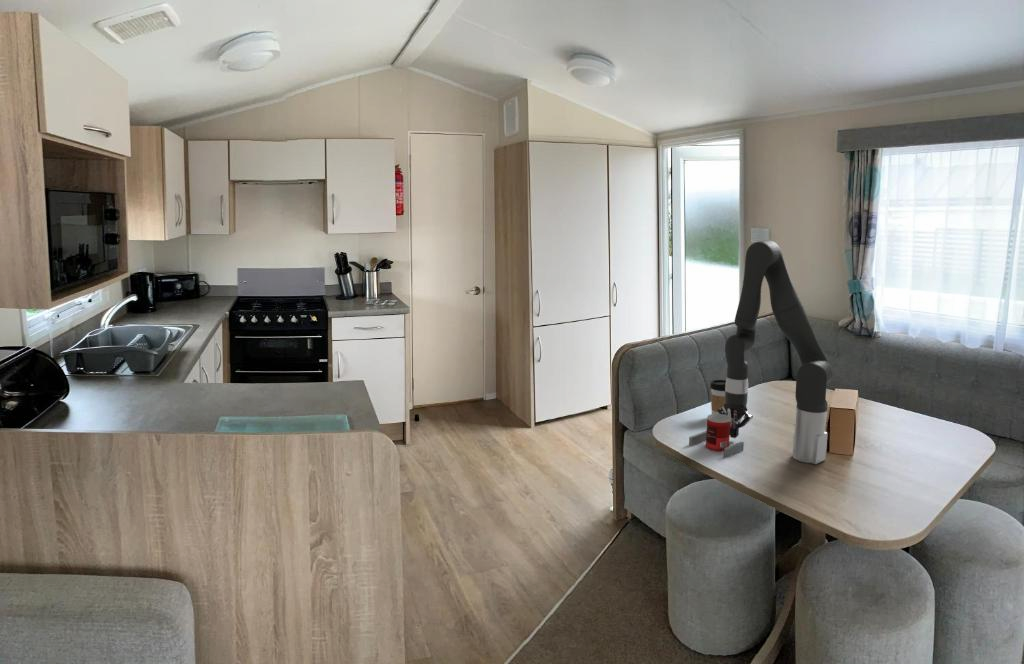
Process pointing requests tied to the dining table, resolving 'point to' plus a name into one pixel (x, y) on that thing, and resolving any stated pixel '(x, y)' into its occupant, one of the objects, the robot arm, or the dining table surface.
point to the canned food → (718, 432)
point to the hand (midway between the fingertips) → (733, 437)
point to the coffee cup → (717, 395)
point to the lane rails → (727, 451)
